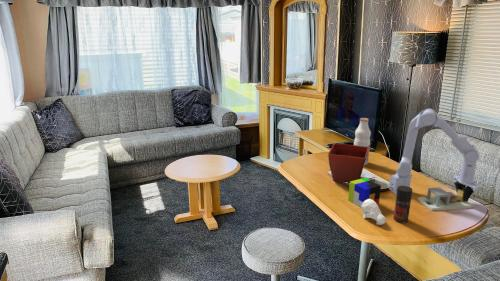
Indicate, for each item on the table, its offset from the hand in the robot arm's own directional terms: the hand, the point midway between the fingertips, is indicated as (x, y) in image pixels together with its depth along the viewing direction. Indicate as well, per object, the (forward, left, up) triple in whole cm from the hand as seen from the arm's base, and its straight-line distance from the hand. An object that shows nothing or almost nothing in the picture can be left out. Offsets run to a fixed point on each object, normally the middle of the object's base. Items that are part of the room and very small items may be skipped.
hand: (462, 198), depth 178 cm
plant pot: (-44, +35, -2) cm, 56 cm away
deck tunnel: (-10, 0, -2) cm, 10 cm away
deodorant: (-38, -11, -2) cm, 40 cm away
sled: (-4, 0, -1) cm, 4 cm away
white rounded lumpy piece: (-50, -10, -2) cm, 51 cm away
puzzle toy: (-47, +7, -2) cm, 48 cm away
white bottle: (-26, +57, -2) cm, 63 cm away
